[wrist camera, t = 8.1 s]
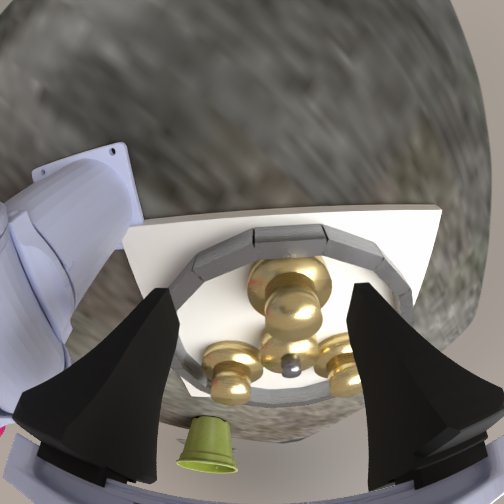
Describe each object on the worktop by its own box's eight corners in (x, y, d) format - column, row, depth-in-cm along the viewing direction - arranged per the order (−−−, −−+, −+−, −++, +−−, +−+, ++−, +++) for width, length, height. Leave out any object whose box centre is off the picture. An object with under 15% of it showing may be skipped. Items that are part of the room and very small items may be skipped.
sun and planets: (209, 373, 28) (205, 409, 24) (190, 321, 23) (181, 363, 19) (362, 363, 27) (371, 397, 23) (381, 308, 22) (397, 347, 18)
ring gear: (196, 393, 31) (194, 407, 29) (129, 237, 19) (118, 252, 17) (373, 381, 30) (377, 394, 28) (432, 219, 17) (445, 232, 16)
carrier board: (192, 389, 32) (191, 396, 31) (122, 222, 19) (117, 228, 18) (376, 377, 31) (377, 383, 30) (435, 204, 18) (442, 210, 17)
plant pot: (239, 432, 41) (237, 475, 34) (186, 427, 41) (181, 469, 34) (240, 413, 36) (238, 465, 29) (178, 408, 36) (170, 457, 29)
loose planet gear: (251, 309, 22) (249, 354, 18) (244, 246, 19) (241, 290, 15) (324, 305, 22) (334, 348, 18) (331, 242, 19) (348, 283, 15)
